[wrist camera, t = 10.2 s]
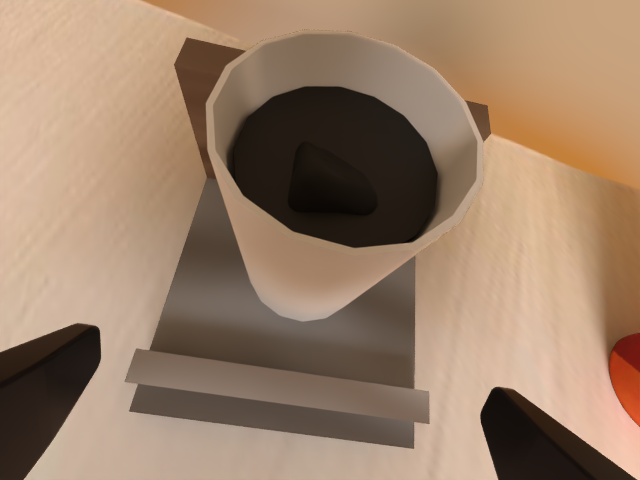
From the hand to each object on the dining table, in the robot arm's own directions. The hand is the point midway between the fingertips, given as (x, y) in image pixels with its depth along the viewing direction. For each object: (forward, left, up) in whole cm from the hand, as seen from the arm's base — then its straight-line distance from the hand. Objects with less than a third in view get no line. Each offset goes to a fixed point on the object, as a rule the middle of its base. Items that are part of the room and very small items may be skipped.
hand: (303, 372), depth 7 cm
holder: (+2, -4, -9) cm, 10 cm away
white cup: (+3, -5, -8) cm, 10 cm away
